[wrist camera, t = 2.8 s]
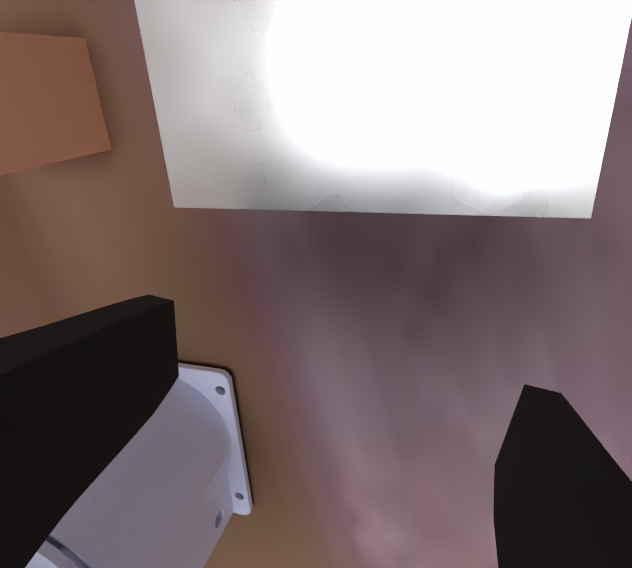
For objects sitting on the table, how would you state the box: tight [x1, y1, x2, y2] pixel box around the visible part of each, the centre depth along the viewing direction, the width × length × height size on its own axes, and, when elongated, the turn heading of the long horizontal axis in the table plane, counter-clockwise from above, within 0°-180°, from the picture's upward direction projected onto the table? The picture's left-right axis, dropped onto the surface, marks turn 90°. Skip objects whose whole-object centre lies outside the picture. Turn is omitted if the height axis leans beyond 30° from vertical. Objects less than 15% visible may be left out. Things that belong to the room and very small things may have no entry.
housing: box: [134, 0, 632, 218], centre depth 11 cm, size 7×10×6 cm
